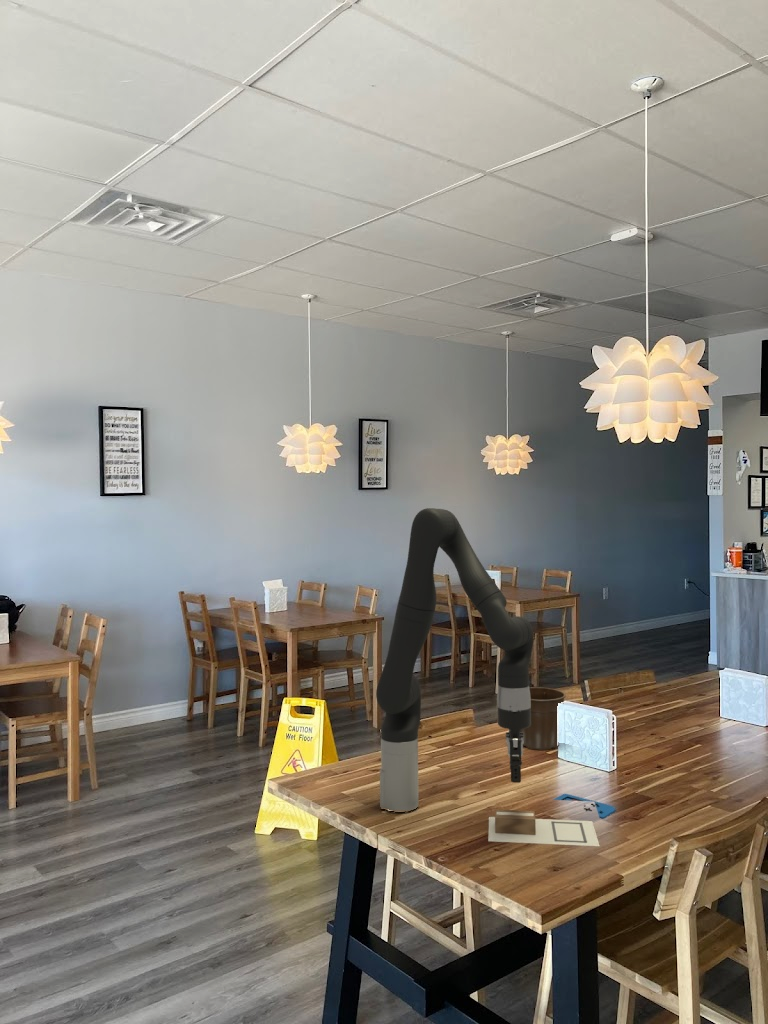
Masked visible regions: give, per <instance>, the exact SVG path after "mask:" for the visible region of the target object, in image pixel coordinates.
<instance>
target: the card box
mask: <svg viewBox="0 0 768 1024" xmlns="http://www.w3.org/2000/svg"><path fill="white" fill-rule="evenodd" d="M535 813H536V812H535V810H513V809H494V814H495V815H494V817H495V833H503V834H525V835H536V824H535V819H536V814H535Z"/></svg>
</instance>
